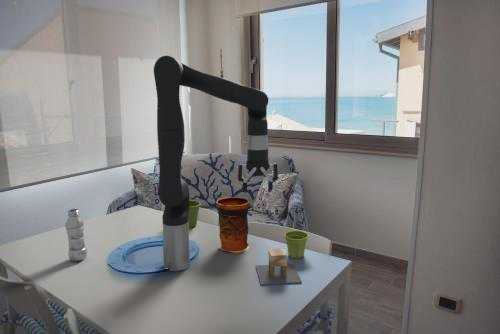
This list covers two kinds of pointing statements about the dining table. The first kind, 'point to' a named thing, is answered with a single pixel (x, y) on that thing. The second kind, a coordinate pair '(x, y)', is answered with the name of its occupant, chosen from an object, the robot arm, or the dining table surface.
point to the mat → (277, 275)
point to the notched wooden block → (277, 261)
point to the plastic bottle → (75, 236)
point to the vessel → (233, 223)
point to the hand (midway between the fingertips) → (257, 191)
